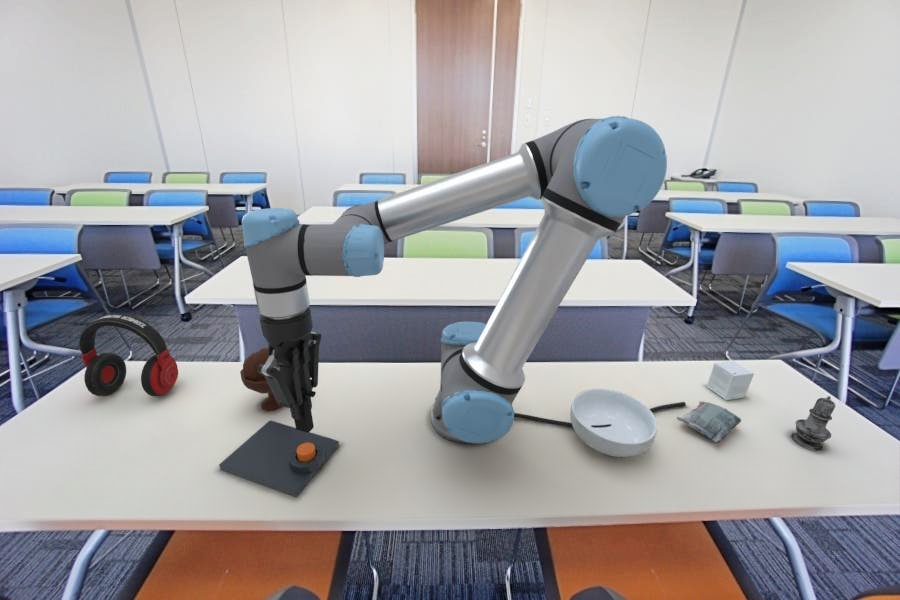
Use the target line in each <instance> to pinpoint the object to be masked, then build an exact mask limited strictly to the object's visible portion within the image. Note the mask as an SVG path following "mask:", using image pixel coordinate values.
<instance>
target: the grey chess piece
mask: <svg viewBox="0 0 900 600" xmlns="http://www.w3.org/2000/svg"><path fill="white" fill-rule="evenodd" d="M831 399H832V398H831V396H830V395H829V396H826V397H819V398H817V399H816V402H815V404H814V405H813V407H812V408H809V410H808V412H809V414H808V416H807V418H806V419H802V418H801V419H797V420H796V421H795V432H792V433H791V435H790V437H791V439H792V440H793V442H795V443H796V444H797V445H799V446H801V447H802V448H805V449H806V450H810V451H817V452H818V451H819V452H820V451H823V448H824V447H823V446H824V445H823V444H822V443H824V442H827V441H828V440H829V439H831V438H832V433H831V432H830V430H828V428H827V425H828V423H829V421H832V420H833V417H832V414H833V412H834V410H835V409H836V403H835V402H834V401H833V400H831Z"/></svg>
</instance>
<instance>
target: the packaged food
mask: <svg viewBox="0 0 900 600" xmlns="http://www.w3.org/2000/svg"><path fill="white" fill-rule="evenodd" d="M676 419H677V421H679V422H682V423H683V424H684V425H685V426H687V427H689V428H691V429H693V430H694V431H696V432H698V433H699V434H701V435H703V436H705V437H706V438H708V439H709V440H711V441H712V442H715V443H720V442H721V440H722V439H724V437H725V436H726V435H727V434H728V433H729V432H730V431H731V430H733V429H734V428H736V427H737V426H738V425H739V424H740V423H741V422H742V418H741V417H739V416H738V415H736V414H734V413H733V412H731V411H730V410H729V409H727V408H724V407H722V406H720V405H717V404H714V403H711V402H708V401H703V400H700V401H698V405H697V406H696V407H695V408H694V409H691V411H689V412H687V413H685V414H683V415H681V416H676Z"/></svg>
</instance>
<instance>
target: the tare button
mask: <svg viewBox="0 0 900 600" xmlns="http://www.w3.org/2000/svg"><path fill="white" fill-rule="evenodd" d="M315 455H316V453H315V446H314V444H312V443H303V444H301V445H300V446H299V447H298V448H297V457H298V460H299V461H300V462H309V461H311V460H312V459H313V458H314V457H315Z"/></svg>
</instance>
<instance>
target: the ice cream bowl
mask: <svg viewBox="0 0 900 600" xmlns="http://www.w3.org/2000/svg"><path fill="white" fill-rule="evenodd" d="M268 358H269V356H268V347H263V348H261V349H259V350H257V351H255V352H253V353H251V354H250V355H249V356H248V357H246V359H245V360H244V361H243V363H242V369H241V370H240V371H239V372H240V378H241V379H240V380H241V381H242V384H243V386H244V387H245V388H247V389H248V390H251V391H254V392H256V393H259V394H264V395H265V394H267V397H265V398H264V399H263V400H262V401H261V403H260V408H261V410H263V411H265V412H275V411H278V410H279V409H282V408H283V406H279V405H278V403H277V401H276V399H275V397H274V395H273V393H272V391H271V389H270V387H269V385H268V383H267V381H266V379H265V377H264V376H263V375H262V374H261V373H259V372H258V370H257V369H258V366H259V365H261V364H262V365H265V363H266V361H267V360H268ZM280 372H281V370H280Z"/></svg>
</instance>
